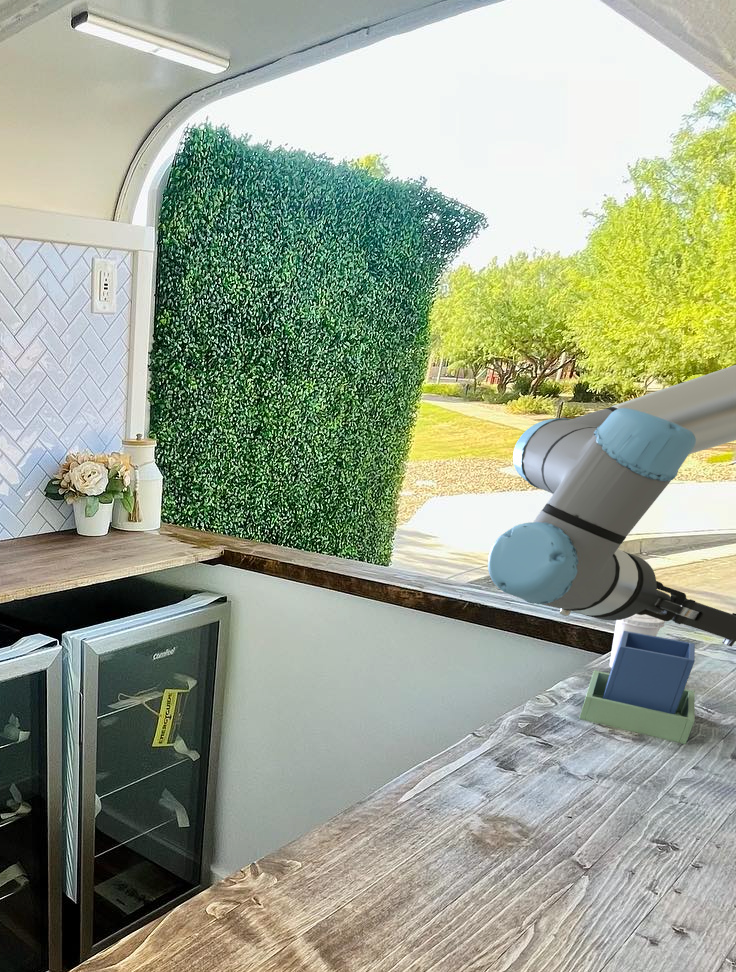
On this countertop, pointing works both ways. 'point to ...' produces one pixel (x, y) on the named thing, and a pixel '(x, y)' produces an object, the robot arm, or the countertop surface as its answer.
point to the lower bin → (638, 713)
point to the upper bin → (650, 672)
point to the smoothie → (634, 629)
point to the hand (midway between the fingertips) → (688, 608)
